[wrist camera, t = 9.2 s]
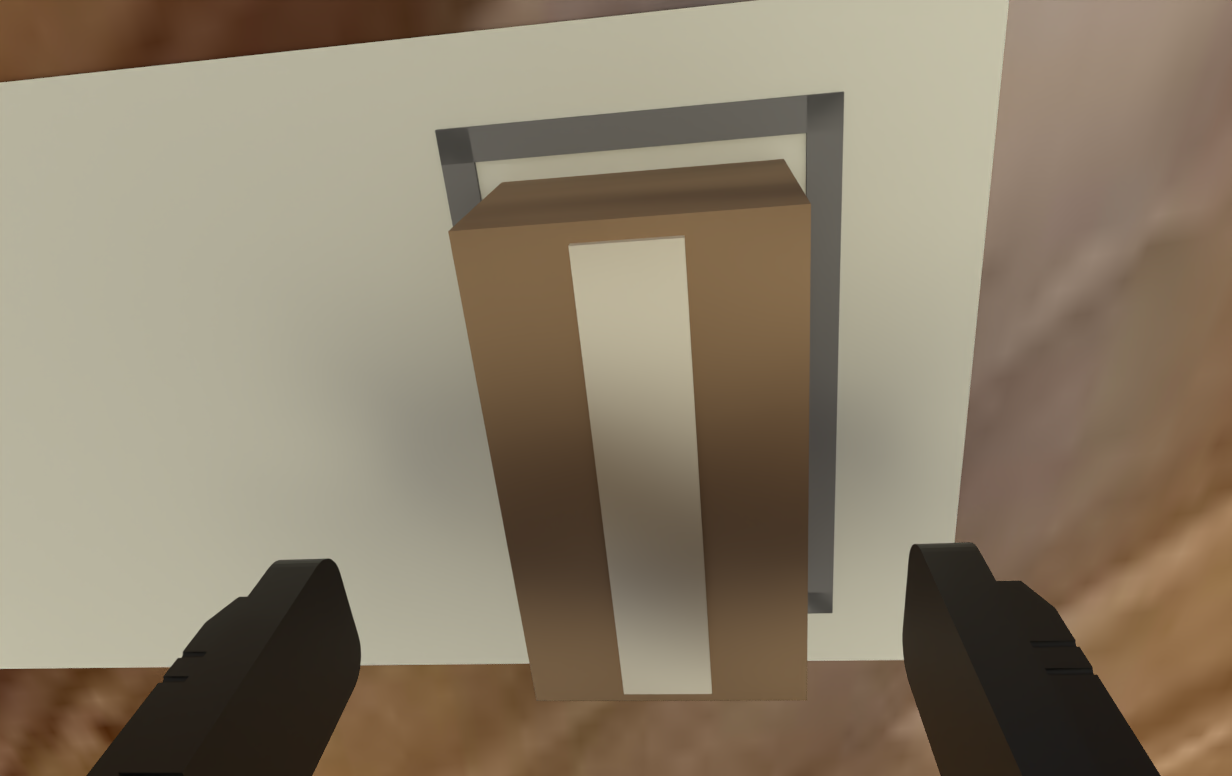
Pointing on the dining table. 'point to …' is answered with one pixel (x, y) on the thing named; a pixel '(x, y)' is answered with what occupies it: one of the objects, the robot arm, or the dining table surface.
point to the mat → (447, 308)
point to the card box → (649, 424)
